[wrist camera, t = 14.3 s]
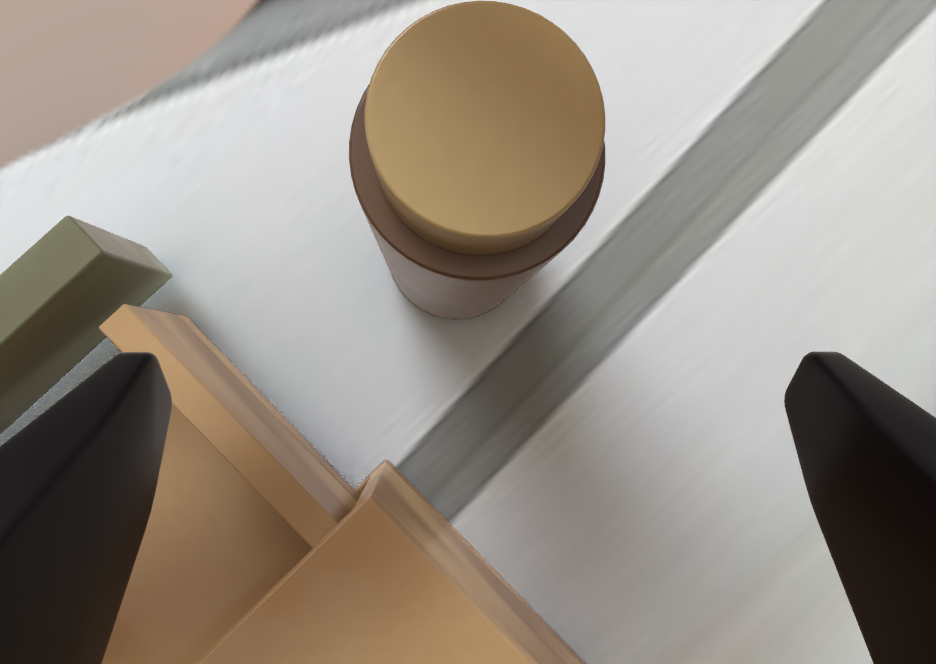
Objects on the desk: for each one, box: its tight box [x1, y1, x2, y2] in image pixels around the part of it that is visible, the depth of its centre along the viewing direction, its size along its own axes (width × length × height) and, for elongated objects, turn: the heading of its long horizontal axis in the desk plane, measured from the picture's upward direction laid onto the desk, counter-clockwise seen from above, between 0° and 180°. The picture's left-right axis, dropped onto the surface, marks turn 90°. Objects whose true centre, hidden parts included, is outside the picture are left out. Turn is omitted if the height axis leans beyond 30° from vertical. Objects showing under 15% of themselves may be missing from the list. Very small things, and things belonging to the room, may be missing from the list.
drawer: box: [0, 216, 360, 664], centre depth 17 cm, size 14×10×4 cm
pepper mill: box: [349, 1, 605, 319], centre depth 15 cm, size 4×4×11 cm
